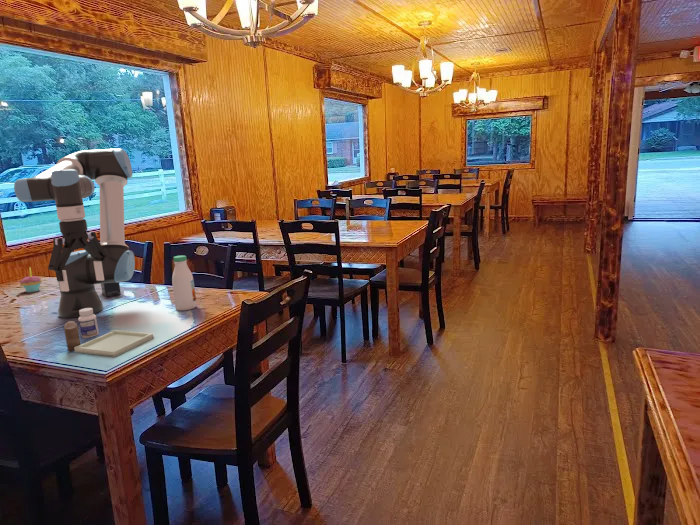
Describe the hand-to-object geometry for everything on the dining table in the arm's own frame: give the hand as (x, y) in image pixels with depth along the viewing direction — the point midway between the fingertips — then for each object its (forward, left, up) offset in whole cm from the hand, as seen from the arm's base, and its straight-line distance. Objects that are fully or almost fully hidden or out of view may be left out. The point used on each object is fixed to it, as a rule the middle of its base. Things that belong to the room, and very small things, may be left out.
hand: (83, 285), depth 161 cm
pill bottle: (0, 0, -17) cm, 17 cm away
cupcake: (-83, +41, -17) cm, 94 cm away
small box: (-38, +45, -17) cm, 61 cm away
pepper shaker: (+6, -11, -17) cm, 21 cm away
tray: (+16, -5, -17) cm, 24 cm away
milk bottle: (+12, +33, -17) cm, 39 cm away
